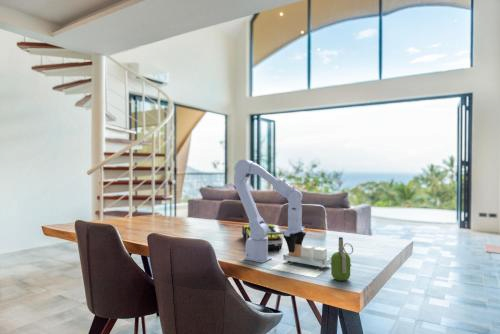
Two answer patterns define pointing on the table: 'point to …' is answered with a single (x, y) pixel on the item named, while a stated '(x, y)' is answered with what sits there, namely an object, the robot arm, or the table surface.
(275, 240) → the racing car
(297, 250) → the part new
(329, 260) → the beam with t-bracket
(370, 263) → the table surface
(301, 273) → the track
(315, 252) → the part
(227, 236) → the table surface
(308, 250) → the part
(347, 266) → the grenade
